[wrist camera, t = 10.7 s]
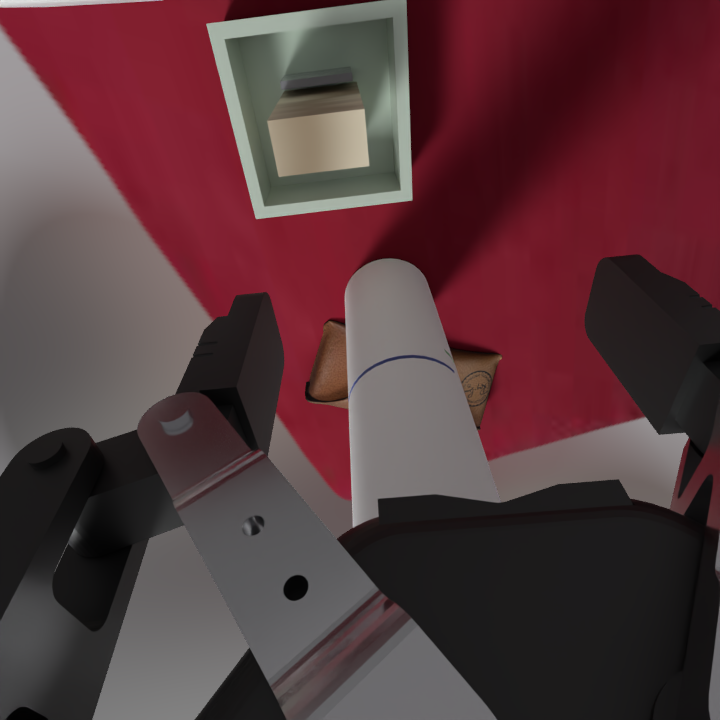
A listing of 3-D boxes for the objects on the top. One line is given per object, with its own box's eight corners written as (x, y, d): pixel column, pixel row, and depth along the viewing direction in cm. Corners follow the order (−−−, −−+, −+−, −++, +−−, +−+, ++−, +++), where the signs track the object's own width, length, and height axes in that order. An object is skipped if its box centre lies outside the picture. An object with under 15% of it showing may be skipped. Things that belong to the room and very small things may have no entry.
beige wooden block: (356, 82, 27) (364, 108, 20) (360, 127, 29) (369, 166, 22) (284, 91, 28) (267, 120, 21) (291, 135, 29) (278, 177, 22)
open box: (396, -2, 26) (406, -3, 22) (403, 178, 32) (412, 200, 28) (223, 21, 26) (206, 24, 22) (264, 195, 32) (255, 219, 29)
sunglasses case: (510, 352, 42) (512, 421, 40) (474, 374, 48) (475, 436, 46) (320, 316, 39) (310, 390, 36) (310, 346, 45) (301, 410, 43)
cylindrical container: (378, 241, 35) (436, 549, 15) (446, 287, 37) (570, 597, 18) (328, 307, 38) (322, 626, 19) (394, 344, 41) (448, 656, 21)
